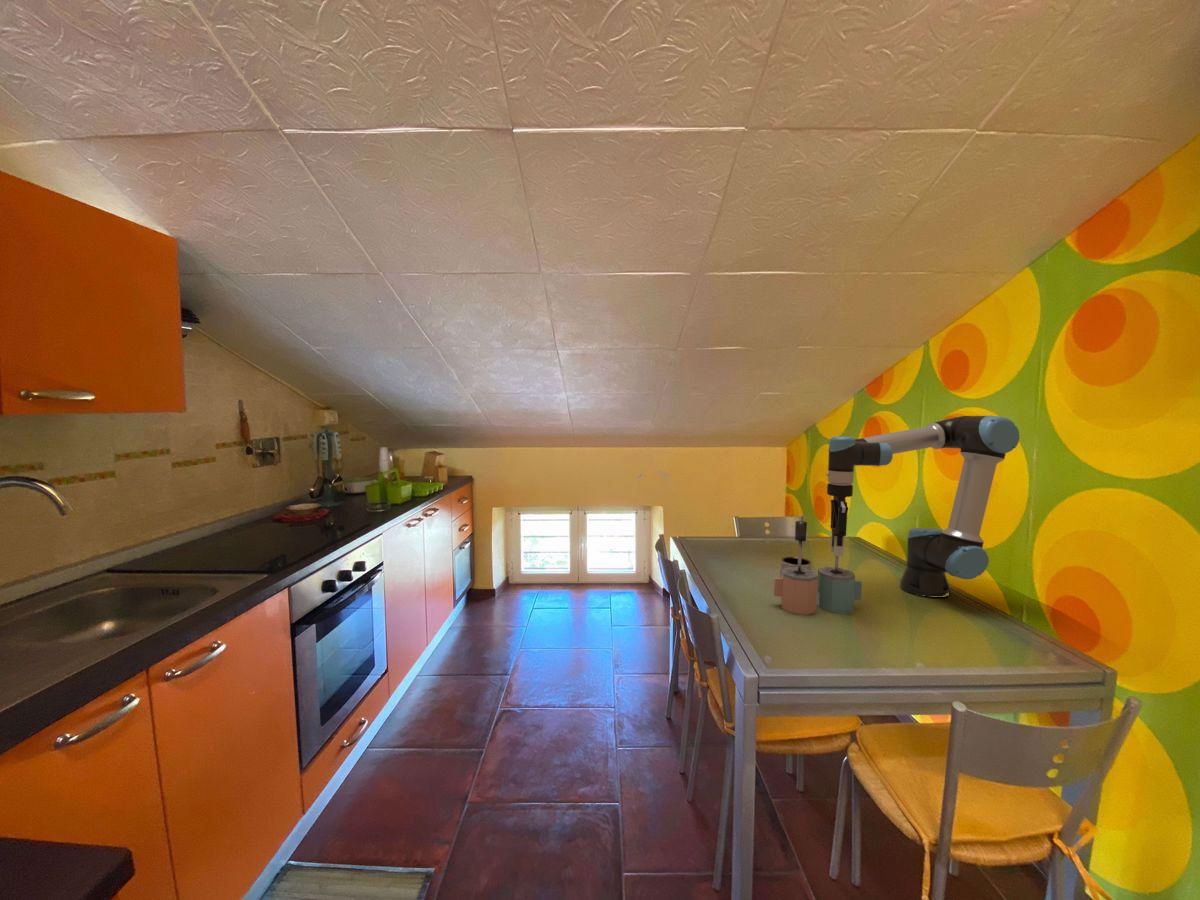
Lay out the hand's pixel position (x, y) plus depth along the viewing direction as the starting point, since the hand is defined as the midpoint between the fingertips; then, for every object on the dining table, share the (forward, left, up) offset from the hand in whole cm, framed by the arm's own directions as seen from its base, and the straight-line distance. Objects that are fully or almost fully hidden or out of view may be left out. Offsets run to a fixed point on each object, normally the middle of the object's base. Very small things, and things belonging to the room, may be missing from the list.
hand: (837, 553), depth 158 cm
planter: (+10, -18, -19) cm, 28 cm away
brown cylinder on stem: (+12, +4, -9) cm, 16 cm away
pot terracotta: (+13, +4, -18) cm, 23 cm away
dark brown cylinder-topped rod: (0, 0, -11) cm, 11 cm away
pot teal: (-1, 0, -18) cm, 18 cm away
